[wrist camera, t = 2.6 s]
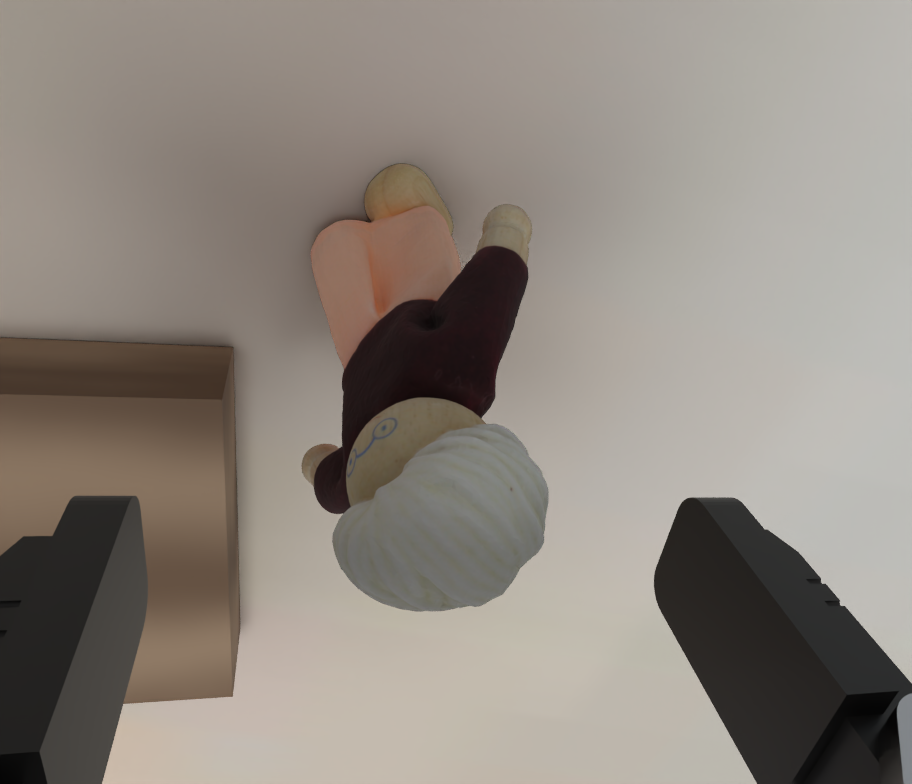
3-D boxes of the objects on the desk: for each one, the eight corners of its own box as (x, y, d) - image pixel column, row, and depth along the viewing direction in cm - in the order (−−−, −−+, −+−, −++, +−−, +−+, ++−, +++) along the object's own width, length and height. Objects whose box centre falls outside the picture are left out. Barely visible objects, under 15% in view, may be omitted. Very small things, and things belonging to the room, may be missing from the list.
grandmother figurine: (366, 99, 18) (451, 288, 7) (495, 163, 19) (732, 403, 8) (266, 349, 21) (215, 750, 10) (383, 388, 22) (450, 776, 11)
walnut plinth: (-254, 327, 18) (-349, 385, 15) (233, 347, 20) (221, 399, 18) (-125, 643, 24) (-177, 724, 21) (240, 627, 26) (232, 696, 24)
